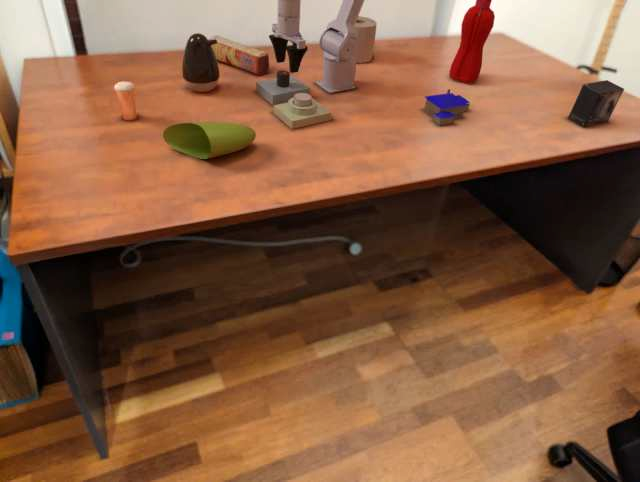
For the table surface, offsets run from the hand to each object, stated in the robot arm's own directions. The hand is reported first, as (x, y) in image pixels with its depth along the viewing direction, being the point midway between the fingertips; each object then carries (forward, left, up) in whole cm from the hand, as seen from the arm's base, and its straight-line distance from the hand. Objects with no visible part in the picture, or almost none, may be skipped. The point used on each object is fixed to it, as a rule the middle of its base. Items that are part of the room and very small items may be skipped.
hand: (287, 67), depth 134 cm
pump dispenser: (+19, -16, -9) cm, 26 cm away
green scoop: (+29, +18, -9) cm, 36 cm away
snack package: (+1, -28, -9) cm, 29 cm away
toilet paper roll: (-39, -20, -9) cm, 44 cm away
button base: (+1, +11, -9) cm, 15 cm away
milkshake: (+41, -7, -9) cm, 43 cm away
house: (-37, +26, -9) cm, 46 cm away
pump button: (+1, +11, -6) cm, 13 cm away
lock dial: (-1, -3, -6) cm, 7 cm away
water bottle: (-61, +10, -9) cm, 62 cm away
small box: (-74, +48, -9) cm, 88 cm away
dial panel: (-1, -3, -9) cm, 10 cm away
